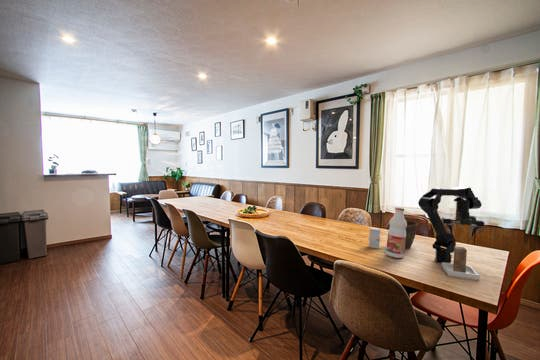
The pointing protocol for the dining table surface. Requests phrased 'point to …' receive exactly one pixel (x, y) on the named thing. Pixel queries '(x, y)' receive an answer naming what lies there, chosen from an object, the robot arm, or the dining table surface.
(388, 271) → the dining table surface
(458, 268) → the walnut block
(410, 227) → the plant pot
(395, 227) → the fruit juice
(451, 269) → the tray
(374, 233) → the skincare box
